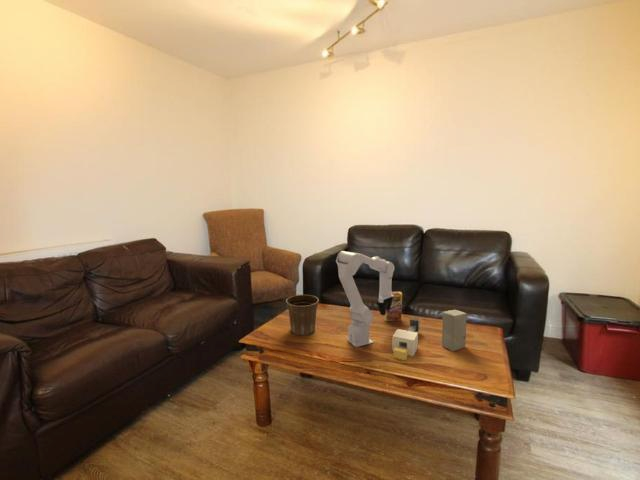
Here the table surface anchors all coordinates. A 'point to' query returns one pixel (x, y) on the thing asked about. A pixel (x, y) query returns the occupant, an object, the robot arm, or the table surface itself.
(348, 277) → the robot arm
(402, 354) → the block
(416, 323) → the shaft
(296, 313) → the plant pot
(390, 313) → the candy box
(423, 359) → the table surface
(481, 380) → the table surface
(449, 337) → the skincare box
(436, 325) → the table surface
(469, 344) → the table surface
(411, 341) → the bearing block
